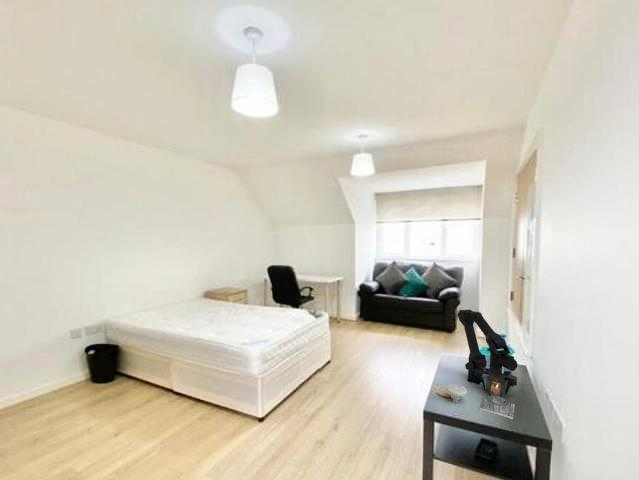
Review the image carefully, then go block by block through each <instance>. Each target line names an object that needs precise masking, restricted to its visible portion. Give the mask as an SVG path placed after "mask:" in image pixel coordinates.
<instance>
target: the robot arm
mask: <svg viewBox="0 0 639 480" xmlns="http://www.w3.org/2000/svg"><path fill="white" fill-rule="evenodd" d="M457 317H458V320H459V323H461V325H462V326H463V328H464V332H465V336H466V341H467V345H468V348H469V349H468V350H469V355H468V362H466V363H465V364H464V367H465V370H467V380H466V381H467V382H470V383H473V384H477V385H481V384H482V387H483V390H484V391H486V384H487V383H486V376H487V378H488V381H489V382H490V381H491V382H496V383H500V382H505V381H506V384H505V385H506V387H505V391H504V396H507V394H508V392H509V390H510V388H511V387H513V388H514V387H516V386H517V385H518V377H517V376H516V375H514V374H513V375H512V374H508V375H507V376H506V375H505V373H504V372H503V368H505V369H506V370H509V371H511V372H514V371H516V370H517V368H518V365H519V364H518V362H517V359H515V356H514V355H510V354H511V352H510V349H509V347H508V345H507V341H506V340H505V338H504V337H502V335H500V334H499V333H497V332H495V331H494V329H493V328H492V327H491V325H490V324H489V323H488V322H487V320H486V319H485V318H484V316H483V314H482V312H480V311H474V310H472V309H459V310H458V312H457ZM474 323H475V324H476V326H477V327H478V328H479V330H481V332H482V334H483V336H484V337H485V342H486V344H487V346H488V348H487V349H486V351H487V352H489V353H490V354H489V369H488V371H487V370H486V367H487V365H488V364H487V362H488V361H487V359H486V355H485V354H483V353H482V352H481V351H480V347H479V343H478V339H477V336H476V330H475V328H474Z"/></svg>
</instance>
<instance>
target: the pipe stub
mask: <svg viewBox="0 0 639 480" xmlns="http://www.w3.org/2000/svg"><path fill="white" fill-rule="evenodd" d="M489 394H490V395H489V396H498V397H500V396H501V383H500V382H499V383H496V382H491V381H489Z"/></svg>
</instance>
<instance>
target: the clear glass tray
mask: <svg viewBox="0 0 639 480" xmlns="http://www.w3.org/2000/svg"><path fill="white" fill-rule="evenodd" d="M515 406H516V405H515V404H514V403H512V402H510V401H508V400H507V399H505V398H504V397H500V396H499V397H498V396H492V395H484V396H483V398H482V401H481V404H480V408H479V410H481V411H485V412H487V413H488V412H489V413H492V414H495V415H498V416H501V417H505V418H508V419H511V420H513V419H514V413H515Z"/></svg>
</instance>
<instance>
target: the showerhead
mask: <svg viewBox="0 0 639 480" xmlns="http://www.w3.org/2000/svg"><path fill="white" fill-rule="evenodd" d="M445 391H446V392H447V393H448V394H450V397H451V399H452V400H453V402H454V403H459V401H460V400H461V399H462V397H465V396H467V393H468V391H467V388H465V387H464V386H463V385H460V384H455V383H449V384H446V385H445Z"/></svg>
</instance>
